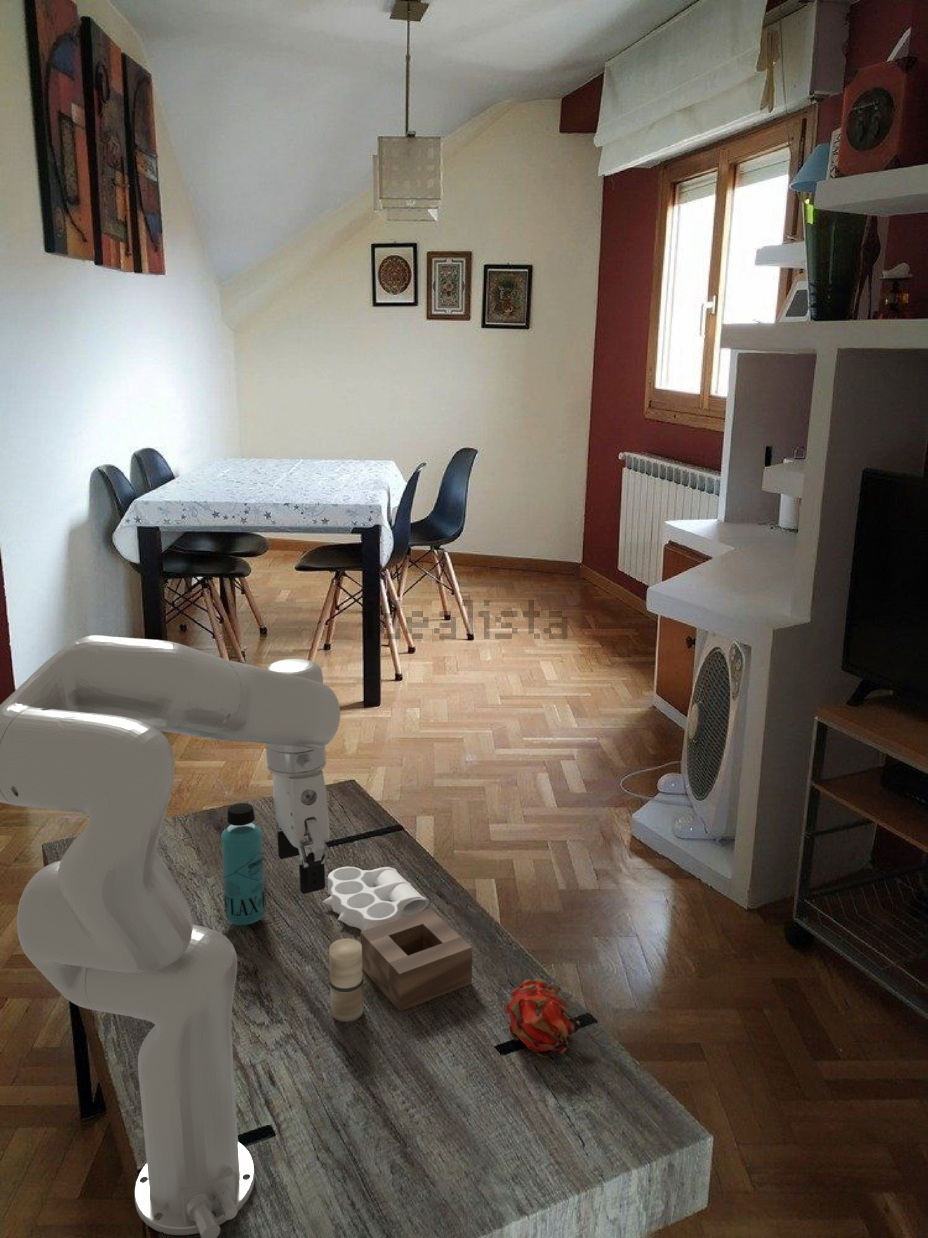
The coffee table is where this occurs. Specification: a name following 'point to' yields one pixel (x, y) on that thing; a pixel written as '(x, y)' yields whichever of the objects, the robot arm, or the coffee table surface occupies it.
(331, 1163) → the coffee table surface
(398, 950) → the socket block
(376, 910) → the knuckle duster
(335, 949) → the peg
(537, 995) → the dragon fruit
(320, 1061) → the coffee table surface
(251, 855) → the beverage bottle
